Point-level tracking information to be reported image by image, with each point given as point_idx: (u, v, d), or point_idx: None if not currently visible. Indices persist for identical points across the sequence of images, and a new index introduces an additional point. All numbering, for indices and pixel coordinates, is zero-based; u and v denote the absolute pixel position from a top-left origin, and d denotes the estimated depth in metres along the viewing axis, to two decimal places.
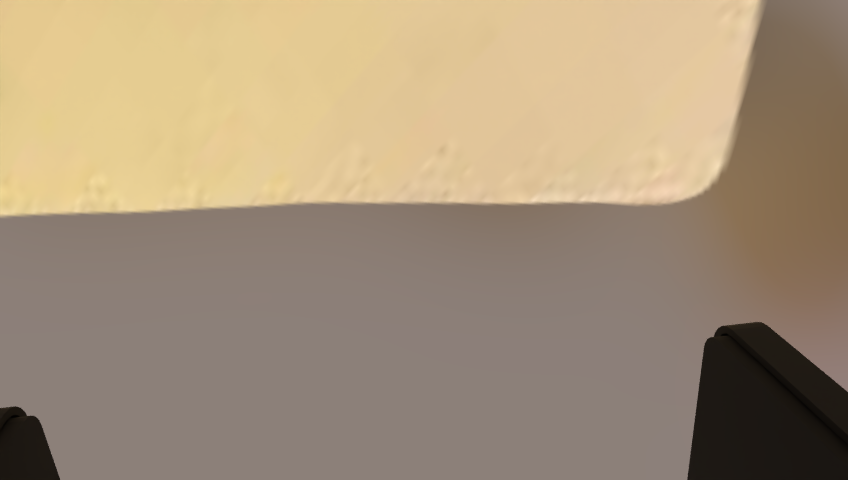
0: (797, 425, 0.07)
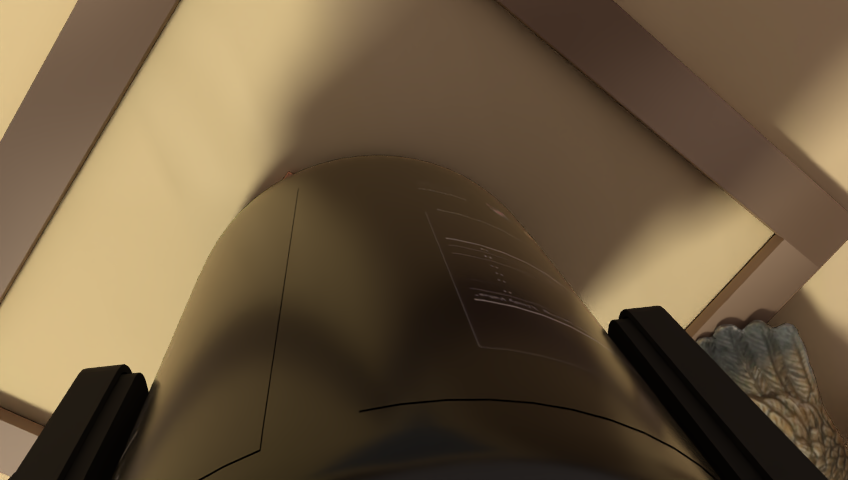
0: (671, 398, 0.08)
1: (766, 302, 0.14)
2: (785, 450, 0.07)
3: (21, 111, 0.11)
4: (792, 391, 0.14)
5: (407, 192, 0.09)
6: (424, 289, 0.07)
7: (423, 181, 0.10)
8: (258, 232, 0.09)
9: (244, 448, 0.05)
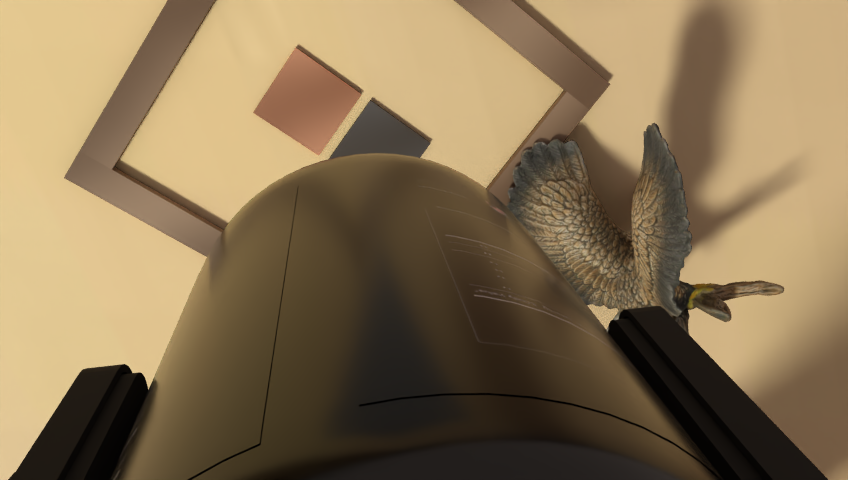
0: (671, 398, 0.08)
1: (561, 129, 0.25)
2: (785, 450, 0.07)
3: (163, 11, 0.22)
4: (573, 177, 0.25)
5: (406, 190, 0.10)
6: (422, 286, 0.07)
7: (422, 179, 0.10)
8: (258, 230, 0.09)
9: (245, 442, 0.05)
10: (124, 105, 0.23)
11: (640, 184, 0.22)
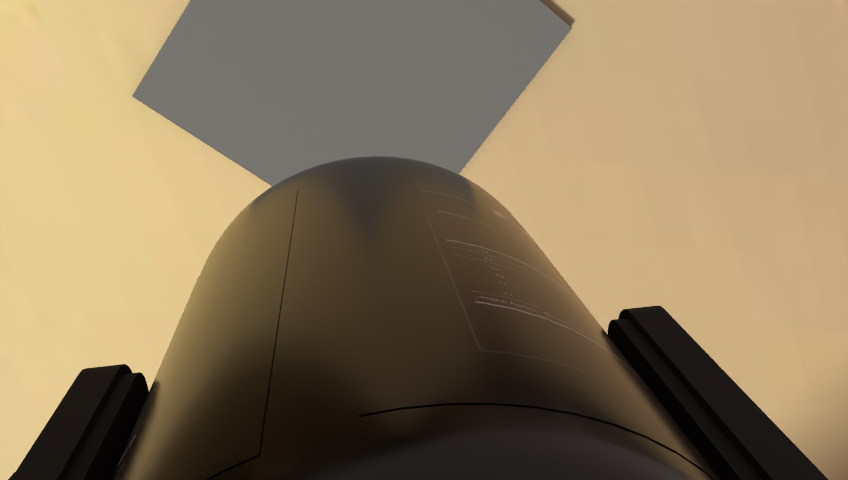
0: (671, 398, 0.08)
1: None
2: (785, 450, 0.07)
3: None
4: None
5: (407, 194, 0.09)
6: (424, 291, 0.06)
7: (423, 183, 0.10)
8: (258, 233, 0.09)
9: (245, 452, 0.05)
10: None
11: None
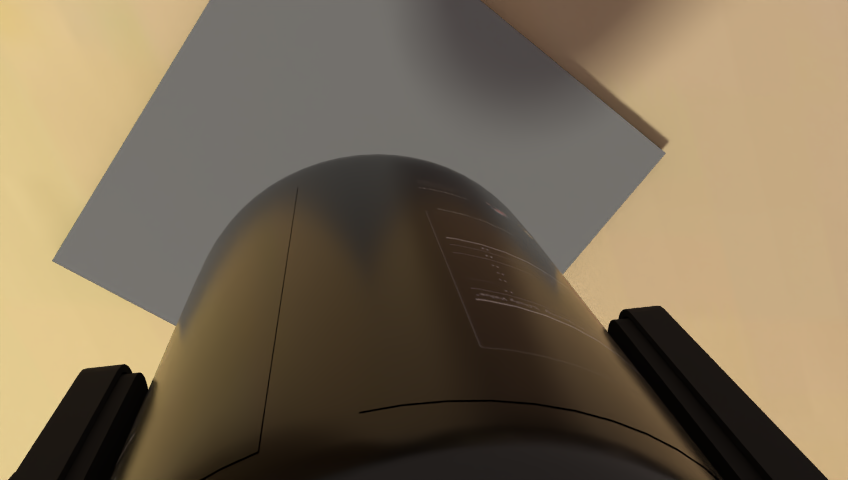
0: (671, 398, 0.08)
1: None
2: (785, 450, 0.07)
3: None
4: None
5: (407, 192, 0.09)
6: (425, 288, 0.06)
7: (423, 180, 0.10)
8: (258, 231, 0.09)
9: (243, 450, 0.05)
10: None
11: None
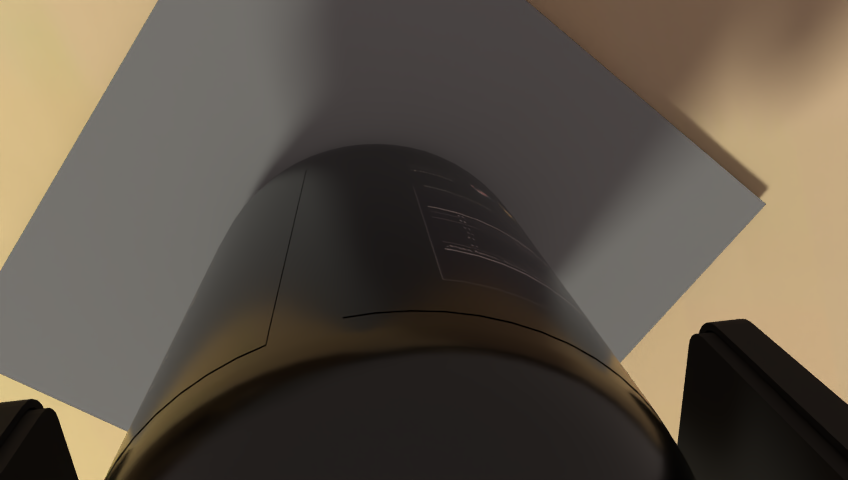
0: (777, 419, 0.07)
1: None
2: None
3: None
4: None
5: (399, 173, 0.11)
6: (403, 240, 0.08)
7: (414, 164, 0.12)
8: (270, 205, 0.11)
9: (254, 345, 0.06)
10: None
11: None
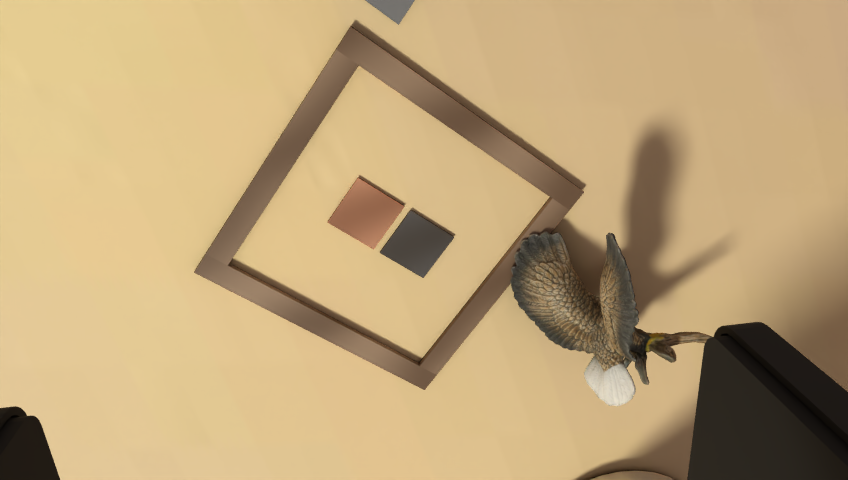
0: (797, 425, 0.07)
1: (549, 224, 0.35)
2: None
3: (267, 159, 0.31)
4: (558, 259, 0.34)
5: None
6: None
7: None
8: None
9: None
10: (238, 222, 0.32)
11: (604, 271, 0.32)
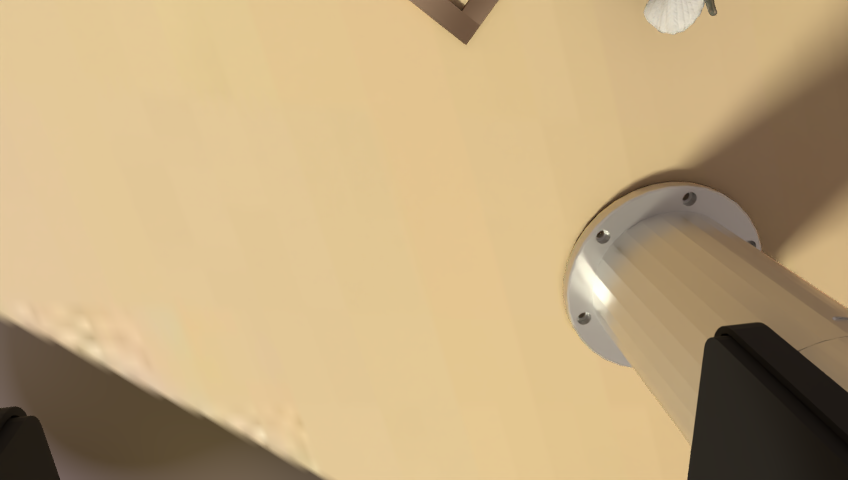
0: (797, 425, 0.07)
1: None
2: None
3: None
4: None
5: None
6: None
7: None
8: None
9: None
10: None
11: None
